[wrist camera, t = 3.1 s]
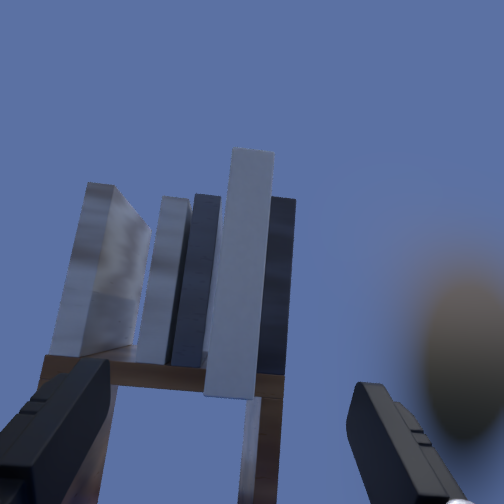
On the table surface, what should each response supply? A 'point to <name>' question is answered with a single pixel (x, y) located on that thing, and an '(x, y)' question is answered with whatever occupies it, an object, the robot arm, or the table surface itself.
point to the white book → (240, 277)
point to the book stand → (169, 318)
